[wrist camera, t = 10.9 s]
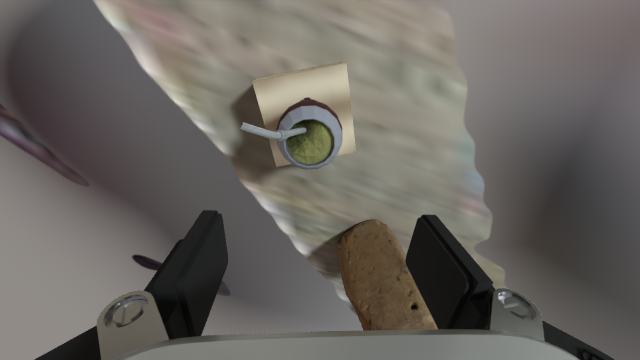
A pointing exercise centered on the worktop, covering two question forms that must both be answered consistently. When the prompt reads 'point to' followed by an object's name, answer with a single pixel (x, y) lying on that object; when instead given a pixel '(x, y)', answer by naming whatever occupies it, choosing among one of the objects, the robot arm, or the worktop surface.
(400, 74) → the worktop surface
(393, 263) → the block
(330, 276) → the worktop surface
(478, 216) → the worktop surface
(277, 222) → the worktop surface
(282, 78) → the maple block
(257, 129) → the mate gourd
